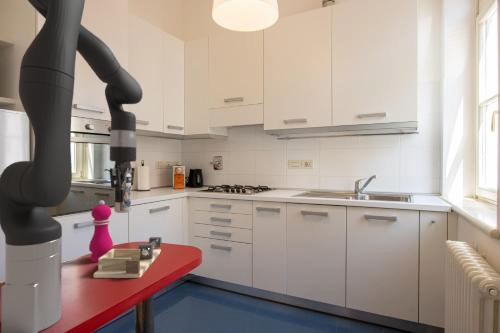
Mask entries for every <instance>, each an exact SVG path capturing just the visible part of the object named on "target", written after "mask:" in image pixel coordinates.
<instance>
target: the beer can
mask: <svg viewBox="0 0 500 333" xmlns="http://www.w3.org/2000/svg"><path fill="white" fill-rule="evenodd" d="M123 178H124V177H123ZM123 178H121V179H123ZM117 184H118V183H117ZM131 195H132V186H131V175H130V173H128V174H127V180H126V182H125V183H124V189H123V202H121V203H116V202H115V196H114V197H113V198H114V203H113V204H114V210H113V211H114V212H115V213H117V214H123V213H124V214H125V213H129V212H130V211H131V210H132V208H131V204H132V196H131Z"/></svg>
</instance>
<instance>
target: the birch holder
mask: <svg viewBox="0 0 500 333" xmlns="http://www.w3.org/2000/svg"><path fill="white" fill-rule="evenodd" d="M144 249H149V253H148V255H147V256H145V257H143V256H142V255H141V252H142V251H143V250H144ZM160 252H161V253H162V249H161V248H153V244H149V243H139V244H138V248H112V249H111V250H110V251H109V252H107V253H106V254H104V255H103V256H102V257H100V258H99V259H98V262H97V264H98V270H96V271H95V272H94V273H93V278H94V279H103V278H104V279H109V278H110V279H112V278H113V279H114V278H115V279H120V278H121V279H122V278H123V279H127V278H129V279H131V278H132V279H134V278H136V279H137V278H138V279H139V278H141V277H142V276H143V275H144V273H145V272H146V271H147V270H148V269H149V268H150V266H151V265H152V263H153V262H154V261H155V260H156V259H157V258H158V256H159V255H160V254H161V253H160Z"/></svg>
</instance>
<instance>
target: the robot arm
mask: <svg viewBox="0 0 500 333" xmlns="http://www.w3.org/2000/svg"><path fill="white" fill-rule="evenodd" d="M27 1H28V3H29V4H30V5H31V6H32V7H33V8H34V9H35V11H37V12H38V13H39V14H40V15H41V16H42V17H43V18H44V19H45V21H44V22H43V25H42V26H41V28H40V30H39V31H38V33H37V35H35V37H34V39H33V40H32V41H31V43H30V44H29V46H28V47H27V49H26V50H25V52H24V54H23V56H22V58H21V61H20V68H19V78H18V95H19V99H20V103H21V104H22V108H23V110H24V112H25V114H26V117H27V118H28V120H29V122H30V124H31V128H32V130H33V135H34V152H33V160H21V161H15V162H13V163H11V164H9V165H7V166H6V167H5V168H4V170H3V171H2V173H1V175H0V229H1V230H2V232H3V234H4V239H5V243H4V244H5V246H4V247H5V248H4V249H5V252H4V253H5V254H4V256H5V257H4V260H5V261H4V264H5V265H4V266H5V267H4V268H5V270H4V284H3V285H2V286H1V287H0V288H1V291H0V292H1V298H0V299H1V304H0V307H1V309H0V312H1V313H0V314H1V315H0V316H1V317H0V319H1V321H0V322H1V325H0V327H1V329H0V332H1V333H39V332H40V331H43V330H46V329H48V328H50V327H52V326H54V325H55V324H57V323H58V322H59V321H60V319H61V318H62V269H63V268H62V267H63V266H62V265H63V264H62V262H63V261H62V260H63V259H62V257H63V256H62V249H63V248H62V243H63V242H62V241H63V237H62V236H63V227H62V223H61V222H59V221H58V220H56V219H55V218H53V217H52V216H51V215H50V213H49V212H48V210H47V208H55V207H57V206H60V205H62V203H64V201H65V200H67V198H68V196H69V194H70V191H71V189H72V181H73V179H72V178H73V172H72V170H73V169H72V168H73V167H72V151H71V150H72V149H71V140H72V139H71V135H72V134H71V133H72V132H71V130H72V111H73V109H72V108H73V100H74V92H75V80H76V78H75V73H76V72H75V70H76V58H77V53H78V54H79V55H80V56H81V57H82V58H83V59H84V61H85V62H86V63H87V65H88V66H89V67H90V69H91V70H92V71H93V72H94V74H95V76H96V77H97V78H98V79H99V80H100V81H101V82H102V83H105V84H106V85H105V89H104V96H105V101H106V103H107V104H106V105H107V107H108V112H109V114H110V115H109V116H110V136H109V161H110V162H115V163H114V168H111V167H110V168H109V178H110V179H109V180H110V187H111V189H113V190H114V197H115V202H116V203H121V202H123V189H124V183H125V182H126V180H127V174H128V173H130V175H131V187H132V186H134V181H135V180H134V179H135V170H136V168H135V167H132V164H131V162H136V161H137V133H136V132H137V128H136V127H137V118H136V115H135V114H134V113H133V112H131V111H126V110H124V108H123V105H136V104H139V103H140V102H141V101H142V99H143V89H142V87H141V85H140V83H139V82H138V81H137V80H136V78H134V76H132V74H130V73H129V72H128V71H127V70H126V69H125V68H124V67H123V66H121V64H120V63H119V61H118V59H117V58H116V56H115V54H114V53H113V52H112V50H111V48H110V47H109V46H108V45H107V44H106V42H104V41H103V40H102V39H100V37H98V36H97V35H96V34H94V33H93V32H91V30H89V29H88V28H86V27H85V26H84V25H82V24H81V23H82V18H83V14H84V9H85V2H86V1H85V0H27ZM123 177H124V178H123ZM121 178H123V179H121ZM117 183H118V184H117Z"/></svg>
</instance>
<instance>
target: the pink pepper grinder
mask: <svg viewBox="0 0 500 333" xmlns="http://www.w3.org/2000/svg"><path fill="white" fill-rule="evenodd" d="M98 201H99V202H98V205H95V206H94V207H93V208H92V210H91V217H92V218H93V220H92V221H93V223H92V225H94V229H93V230H94V232H93V235H92V237H91V239H90V241H89V245H88V246H89V247H88V250H89V251H90V252H91V254H90V262H92V263H98V259H99V258H100V257H102V256H103V255H104V254H106V253H107V252H109V251H110V250H111V249H114V242H113V238H112V237H111V234H110V232H109V224H110V220H111V219H110V217H111V216H112V209H111V207H110V206H109V205H106V204H105V200H98Z"/></svg>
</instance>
